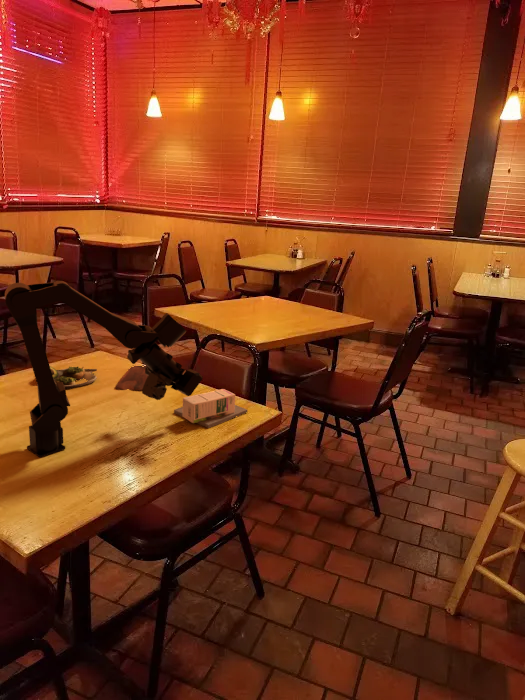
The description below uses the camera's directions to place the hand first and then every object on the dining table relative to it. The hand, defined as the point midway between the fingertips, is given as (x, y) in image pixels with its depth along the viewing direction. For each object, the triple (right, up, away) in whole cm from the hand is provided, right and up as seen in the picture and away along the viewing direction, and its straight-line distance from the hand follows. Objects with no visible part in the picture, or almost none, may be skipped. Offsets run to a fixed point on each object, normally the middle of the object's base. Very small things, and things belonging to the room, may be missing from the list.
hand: (190, 391), depth 139 cm
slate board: (+5, -7, +10) cm, 13 cm away
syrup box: (-1, -5, 0) cm, 5 cm away
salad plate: (-45, +1, +28) cm, 53 cm away
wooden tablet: (-23, +1, +35) cm, 42 cm away
